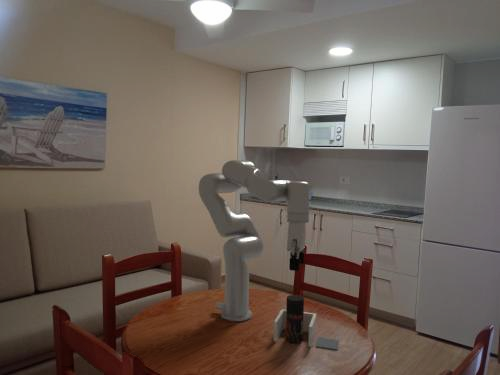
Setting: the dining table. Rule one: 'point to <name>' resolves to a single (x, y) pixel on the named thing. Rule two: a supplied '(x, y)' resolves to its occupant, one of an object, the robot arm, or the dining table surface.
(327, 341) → the coaster
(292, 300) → the deodorant
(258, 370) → the dining table surface
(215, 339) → the dining table surface
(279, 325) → the u-shaped bracket
